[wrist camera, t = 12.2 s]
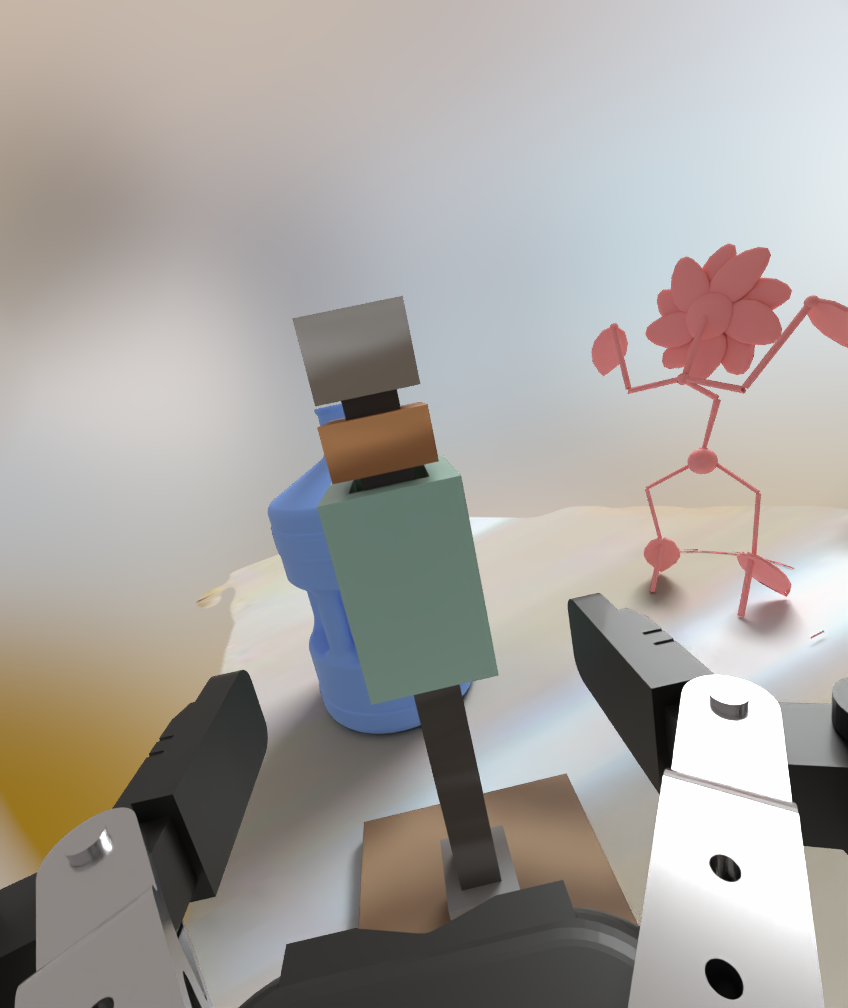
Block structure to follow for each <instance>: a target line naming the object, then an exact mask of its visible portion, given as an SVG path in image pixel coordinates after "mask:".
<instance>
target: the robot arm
mask: <svg viewBox="0 0 848 1008" xmlns="http://www.w3.org/2000/svg"><path fill="white" fill-rule="evenodd" d="M568 614H569V621H570V629H571V636H572V644H573V652H574V658H575V662H576V665H577V668H578V671H579V674H580V676H581V678H582V680H583V682H584V683H585V685H586V686H587V688H588V689H589V691H590V692H591V694H592V695H593V697H594V698H595V700H596V701H597V702H598V704H599V705H600V707H601V708H602V710H603V711H604V713H605V714H606V716H607V717H608V719H609V720H610V722H611V723H612V725H613V726H614V728H615V729H616V731H617V732H618V734H619V735H620V737H621V738H622V740H623V741H624V743H625V744H626V745H627V747H628V748H629V750H630V751H631V753H632V754H633V756H634V757H635V759H636V760H637V762H638V763H639V765H640V766H641V768H642V769H643V771H644V772H645V774H646V775H647V777H648V778H649V780H650V781H651V783H652V784H653V786H654V787H655V789H656V790H657V791H658V793H659V794H660V800H659V807H658V813H657V820H656V826H655V833H654V839H653V846H652V852H651V859H650V866H649V872H648V879H647V885H646V892H645V898H644V905H643V912H642V918H641V925H640V926H638V925H636V924H634V923H632V922H630V921H628V920H626V919H624V918H622V917H619V916H616V915H613V914H610V913H607V912H604V911H600V910H596V909H591V908H586V907H576V906H572V903H571V900H570V897H569V895H568V892H567V889H566V886H565V883H564V881H563V880H560V881H555V882H551V883H547V884H543V885H538V886H534V887H530V888H525V889H521V890H517V891H513V892H508V893H504V894H500V895H496V896H494V897H492V898H490V899H489V900H487V901H485V902H483V903H482V904H480V905H478V906H476V907H474V908H473V909H471V910H469V911H467V912H466V913H464V914H462V915H460V916H458V917H457V918H455V919H453V920H451V921H450V922H448V923H446V924H444V925H442V926H441V927H439V928H437V929H435V930H433V931H431V932H428V933H408V932H396V931H383V930H371V929H358V928H354V929H350V930H346V931H341V932H337V933H333V934H328V935H324V936H320V937H316V938H311V939H307V940H303V941H298V942H294V943H290V944H286V950H285V955H284V960H283V965H282V971H281V976H280V977H279V978H277V979H275V980H273V981H272V982H271V983H269V984H268V985H266V986H265V987H263V988H262V989H261V990H259V991H258V992H256V993H255V994H254V995H253V996H252V997H250V998H249V999H248V1000H247V1001H246V1002H245V1003H243V1004H242V1005H241V1006H240V1007H239V1008H825V1005H824V998H823V990H822V983H821V976H820V968H819V961H818V954H817V946H816V939H815V932H814V924H813V917H812V910H811V902H810V895H809V887H808V880H807V873H806V865H805V858H804V851H803V846H811V847H821V848H832V849H842V850H844V851H845V852H846V853H847V855H848V677H847V678H844V679H841V680H839V681H838V682H837V683H835V685H834V686H833V689H832V704H819V703H781V702H777V701H776V700H775V699H774V698H773V697H772V696H771V695H770V694H769V693H768V692H767V691H765V690H764V689H762V688H761V687H759V686H757V685H755V684H753V683H750V682H748V681H745V680H742V679H739V678H735V677H730V676H722V675H715V674H714V673H712V672H711V671H710V670H709V669H708V668H707V667H705V666H704V665H703V664H702V663H701V662H700V661H698V660H697V659H696V658H695V657H694V656H693V655H691V654H690V653H689V652H688V651H687V650H686V649H685V648H683V647H682V646H681V645H680V644H679V643H678V642H676V641H675V642H674V640H673V638H672V637H671V636H669V635H668V634H667V633H666V632H665V631H662V630H661V628H660V627H659V626H658V625H657V624H656V623H654V622H653V621H652V620H651V619H650V618H649V617H647V616H645V615H643V614H640V613H638V612H636V611H633V610H631V609H628V608H624V609H620V610H618V609H617V608H616V607H614V606H613V605H612V604H611V603H610V602H609V601H608V600H607V599H606V598H605V597H604V596H603V595H602V594H600V593H596V594H592V595H587V596H582V597H578V598H573V599H570V600H569V601H568ZM159 739H160V741H159V742H157V743H156V744H155V746H154V747H153V749H152V750H151V752H150V753H149V757H148V758H146V759H145V761H144V762H143V764H142V765H141V767H140V768H139V770H138V771H137V773H136V774H135V776H134V777H133V779H132V780H131V781H130V783H129V785H128V786H127V788H126V789H125V790H124V792H123V793H122V795H121V796H120V798H119V799H118V801H117V802H116V804H115V805H114V807H113V808H112V809H111V810H107V811H104V812H102V813H100V814H97V815H95V816H93V817H91V818H90V819H88V820H86V821H85V822H83V823H82V824H80V825H79V826H77V827H76V828H74V829H73V830H72V831H70V832H69V833H68V834H67V835H66V836H65V837H63V838H62V839H61V840H60V841H59V842H58V843H57V844H56V845H55V846H54V847H53V848H52V850H51V851H50V852H49V853H48V855H47V856H46V857H45V859H44V860H43V862H42V864H41V865H40V867H39V870H38V872H37V873H35V874H33V875H31V876H29V877H26V878H24V879H23V880H20V881H18V882H16V883H14V884H12V885H9V886H7V887H5V888H3V889H1V890H0V1008H213V1006H212V1003H211V1000H210V997H209V994H208V991H207V988H206V985H205V982H204V979H203V976H202V973H201V970H200V967H199V964H198V960H197V957H196V954H195V951H194V948H193V945H192V942H191V939H190V936H189V933H188V930H187V928H186V926H185V924H184V921H183V917H184V915H185V912H186V910H187V907H188V904H189V902H194V901H198V900H202V899H207V898H211V897H215V896H216V894H217V891H218V888H219V885H220V882H221V879H222V876H223V873H224V871H225V868H226V865H227V862H228V859H229V856H230V853H231V850H232V848H233V845H234V842H235V839H236V836H237V833H238V830H239V827H240V825H241V822H242V819H243V816H244V813H245V810H246V807H247V804H248V801H249V799H250V796H251V793H252V790H253V787H254V784H255V781H256V778H257V776H258V773H259V770H260V767H261V764H262V761H263V758H264V755H265V753H266V749H267V740H268V736H267V726H266V722H265V719H264V716H263V713H262V710H261V707H260V704H259V701H258V698H257V695H256V692H255V690H254V687H253V684H252V681H251V678H250V676H249V674H248V672H247V671H245V670H240V671H236V672H231V673H227V674H222V675H218V676H213V677H211V678H210V679H209V681H208V682H207V684H206V685H205V687H204V688H203V690H202V692H201V693H200V695H199V696H198V698H197V700H196V701H195V702H193V703H190V704H189V705H188V706H187V707H186V708H185V709H184V710H182V711H181V712H180V713H179V714H178V715H177V716H176V717H175V718H173V719H172V721H171V722H170V723H169V725H168V726H167V728H166V729H165V731H164V732H163V734H162V735H161V737H160V738H159Z"/></svg>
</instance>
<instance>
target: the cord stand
mask: <svg viewBox="0 0 848 1008" xmlns="http://www.w3.org/2000/svg"><path fill="white" fill-rule="evenodd" d="M293 322H294V326H295V330H296V334H297V338H298V341H299V345H300V349H301V353H302V356H303V361H304V365H305V368H306V372H307V376H308V380H309V384H310V387H311V391H312V395H313V399H314V403H315V406H319V405H323V404H329V403H334V402H338V401H341V402H342V407H343V411H344V415H345V418H341V419H337V420H332V421H329V422H327V423H326V424H324V425H322V426H320V427H318V432H319V436H320V439H321V443H322V447H323V451H324V455H325V458H326V462H327V466H328V470H329V474H330V477H331V481H332V485H333V484H338V483H342V482H347V481H351V480H356V479H360V480H361V484H362V488H363V491H365V490H370V489H374V488H379V487H383V486H388V485H393V484H397V483H402V482H406V481H411V480H415V479H416V478H415V473H414V468H413V467H416V466H420V465H425V464H429V463H434V462H439V459H438V455H437V449H436V445H435V440H434V434H433V429H432V424H431V419H430V414H429V409H428V404H425V403H422V402H417V403H412V404H407V405H402V406H400V403H399V398H398V394H397V389H399V388H404V387H409V386H414V385H418V384H420V381H419V376H418V370H417V365H416V361H415V355H414V350H413V346H412V341H411V335H410V330H409V325H408V320H407V315H406V310H405V305H404V300H403V296H400V297H395V298H390V299H385V300H380V301H375V302H371V303H366V304H361V305H356V306H351V307H347V308H342V309H337V310H332V311H327V312H322V313H317V314H313V315H308V316H303V317H298V318H293ZM414 699H415V703H416V708H417V712H418V716H419V720H420V724H421V728H422V732H423V736H424V740H425V744H426V748H427V752H428V756H429V760H430V764H431V769H432V773H433V777H434V781H435V785H436V789H437V793H438V797H439V801H440V804H438V805H434V806H430V807H425V808H421V809H417V810H413V811H409V812H405V813H400V814H396V815H392V816H388V817H384V818H380V819H376V820H371V821H367V822H364V833H363V853H362V873H361V893H360V913H359V929H371V930H383V931H396V932H408V933H428V932H431V931H433V930H435V929H437V928H439V927H441V926H442V925H444V924H446V923H448V922H450V921H451V920H453V919H455V918H457V917H458V916H460V915H462V914H464V913H466V912H467V911H469V910H471V909H473V908H474V907H476V906H478V905H480V904H482V903H483V902H485V901H487V900H489V899H490V898H492V897H494V896H496V895H500V894H504V893H508V892H513V891H517V890H521V889H525V888H530V887H534V886H538V885H543V884H547V883H551V882H555V881H560V880H563V881H564V883H565V886H566V889H567V892H568V895H569V897H570V900H571V903H572V906H576V907H586V908H591V909H596V910H600V911H604V912H607V913H610V914H613V915H616V916H619V917H622V918H624V919H626V920H628V921H630V922H632V923H634V924H636V925H638V924H637V922H636V920H635V918H634V916H633V913H632V911H631V909H630V907H629V905H628V903H627V901H626V899H625V897H624V894H623V892H622V890H621V888H620V886H619V884H618V882H617V880H616V878H615V875H614V873H613V871H612V869H611V867H610V865H609V863H608V861H607V859H606V856H605V854H604V852H603V850H602V848H601V846H600V844H599V842H598V839H597V837H596V835H595V833H594V831H593V829H592V827H591V825H590V823H589V820H588V818H587V816H586V814H585V812H584V810H583V808H582V806H581V804H580V801H579V799H578V797H577V795H576V793H575V791H574V789H573V787H572V785H571V782H570V780H569V778H568V776H567V774H563V775H559V776H554V777H550V778H546V779H542V780H538V781H534V782H529V783H525V784H521V785H517V786H513V787H509V788H504V789H500V790H496V791H492V792H488V793H484V794H483V791H482V786H481V782H480V777H479V772H478V768H477V763H476V758H475V754H474V749H473V744H472V740H471V735H470V730H469V726H468V721H467V716H466V712H465V707H464V702H463V697H462V693H461V688H460V684H459V685H455V686H450V687H446V688H442V689H438V690H433V691H429V692H425V693H420V694H416V695H414Z"/></svg>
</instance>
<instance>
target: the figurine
mask: <svg viewBox="0 0 848 1008" xmlns="http://www.w3.org/2000/svg"><path fill="white" fill-rule="evenodd" d="M770 256H771V254H770V252H769V250H768V248H762V247H757V248H753V249H750V250H746V251H744V252H742V253H741V254H739V255H736V249H735V245H732V244H727V245H725V246H723V247H721V248H720V249H719V250H717V251H716V252H715V253H714V254H713V255H712V256H710V258H709V259H708V261H707V262H706V264H705V265H704V267H703V268H701V266H700V265H699V264H698V263H697V262H695V261H694V260H693V259H691V258H689V257H684V258H681V259H680V260H679V261H678V263H677V264H676V266H675V269H674V272H673V275H672V281H671V289H670V290H669V289H668V290H662V291H661V292H660V293H659V295H658V299H657V304H658V308H659V312H660V314H661V315H662V317H661V318H659V319H658V320H656V321H654V322H653V323H652V324H650V325H649V327H647V330H646V336H647V338H648V339H649V340H650V341H651V342H653V343H654V344H656V345H659V346H662V347H665V348H667V349H666V351H665V352H664V353H663V359H662V362H663V365H664V367H666V368H669V369H672V368H681V367H684V370H683V373H682V374H680V375H678V377H677V378H672V379H668V380H663V381H659V382H655V383H650V384H646V385H642V386H638V387H634V388H631V385H630V380H629V376H628V372H627V368H626V364H625V360H624V356H625V354H626V351H627V345H628V342H627V339H626V335H625V332H624V331H623V330H621V329H620V328H618V325H617V324H616V323H613V324H611V325H610V327H609V328H607V329H605V330H603V331H602V332H601V333H600V335H599V336H598V337H597V339H596V340H595V341H594V345H593V348H592V359H593V363H594V365H595V366H596V368H597V369H598V371H599V372H600V373H601V374H602V375H603V376H604V375H606V374H607V373H609V372H610V371H611V370H613V369H614V368H615V367H616V366H617V365H619V364H620V367H621V371H622V375H623V379H624V384H625V387H626V389H629V390H628V394H629V393H634V392H638V391H642V390H646V389H651V388H656V387H660V386H664V385H668V384H673V383H676V382H678V383H679V384H680V385H684V384H686V385H688V386H690V387H692V388H694V389H696V390H697V391H699V392H701V393H703V394H705V395H706V396H708V397H710V398H712V399H714V401H713V405H712V410H711V414H710V418H709V421H708V426H707V430H706V434H705V438H704V442H703V446H702V448H700V449H698V450H695V451H693V452H692V453H691V454H690V456H689V458H688V465H686V466H685V467H682V468H681V469H679V470H677V471H675V472H673V473H671V474H669V475H667V476H666V477H664V478H662V479H660V480H659V481H656V482H654V483H653V484H651V485H649V486H647V487H646V488H647V489H645V491H646V494H647V498H648V502H649V506H650V509H651V513H652V517H653V520H654V524H655V528H656V532H657V535H658V538H657V539H654V540H651V541H650V542H649V543H648V545H647V546H646V547H645V550H644V557H645V558H646V560H647V562H648V563H649V564H651V565H652V566H653V567H654V572H653V577H652V582H651V588H650V592H654V593H655V590H656V584H657V579H658V574H659V571H660V572H662V571H664V570H666V569H668V568H669V567H671V566H672V565H673V564H675V563H676V562H677V560H678V559H679V557H680V552H713V553H725V552H714V551H679V548H678V547H677V545H676V544H675V543H674V541H672V540H669V539H667V538H664V539H662V537H661V533H660V529H659V526H658V522H657V518H656V514H655V510H654V507H653V503H652V499H651V496H650V492H649V489H650V488H651V487H653V486H655V485H657V484H659V483H661V482H663V481H665V480H667V479H669V478H671V477H672V476H675V475H676V474H678V473H680V472H682V471H684V470H686V469H688V468H690V470H691V471H693V472H695V473H698V474H707V473H709V472H712V471H713V470H714V469H715V468H716V467H718V468H719V469H721V470H722V471H724V472H725V473H727V474H728V475H730V476H731V477H733V478H734V479H736V480H737V481H739V482H740V483H742V484H743V485H745V486H746V487H748V488H749V489H751V490H752V491H754V492H755V493H756V504H755V516H754V530H753V543H752V553H749V552H748V553H747V554H746V553H744V552H742V553H740V554H734V553H725V554H734V555H738V556H737V558H738V561H739V564H740V566H741V567H742V568H743V569H744V570H745V571H746V573H745V578H744V584H743V589H742V594H741V600H740V605H739V610H738V615H739V616H743V617H744V615H745V610H746V605H747V599H748V594H749V589H750V583H751V578H752V577H753V578H754V579H756V580H757V581H758V582H760V583H762V584H763V585H765V586H767V587H769V588H771V589H772V590H774V591H776V592H778V593H780V594H782V595H784V596H786V597H787V594H789V592H790V589H791V583H790V581H789V579H788V578H787V576H786V575H785V574H784V573H783V572H782V571H781V570H780V569H779V568H777V567H776V566H775V565H773V564H771V563H770V562H774V561H771V560H767V559H764V558H762V557H760V556H757V555H756V550H757V537H758V525H759V512H760V499H761V494H760V493H759V490H757V489H756V488H754V487H753V486H751V485H750V484H748V483H747V482H745V481H744V480H742V479H741V478H739V477H738V476H736V475H735V474H733V473H732V472H730V471H729V470H728V469H726V468H724V467H723V466H722V465H720V464H719V463H718V459H717V456H716V454H715V453H714V452H713V451H711V450H709V449H708V448H706V447H707V444H708V441H709V437H710V434H711V431H712V427H713V424H714V421H715V418H716V414H717V411H718V408H719V404H720V401H721V400H718V398H719V396H718V395H717V394H714V393H713V392H711V391H709V390H707V389H705V388H703V387H701V386H699V385H697V384H700V385H705V386H710V387H714V388H720V389H725V390H730V391H735V392H739V393H745V391H746V390H745V388H749V387H750V386H751V384H752V383H753V382H754V381H755V379H756V378H757V377H758V375H759V374H760V373H761V372H762V370H763V369H764V368H765V367H766V365H767V364H768V363H769V361H770V360H771V359H772V358H773V356H774V355H775V354H776V353H777V351H778V350H779V349H780V348H781V346H782V345H783V344H784V342H785V341H786V340H787V339H788V337H789V336H790V335H791V334H792V332H793V331H794V330H795V329H796V327H797V326H798V325H799V324H800V322H801V321H802V320H803V318H804V317H805V316H806V315H808V316H809V318H810V320H811V322H812V324H813V325H814V326H816V328H817V329H819V330H820V331H821V332H822V333H823V334H824V335H826V336H827V337H829V338H831V339H832V340H834V341H836V342H837V343H839V344H840V345H842V346H845V347H847V348H848V307H846V306H844V305H841V304H839V303H837V302H835V301H831V300H825V299H820V298H818V297H817V296H809V297H807V298H806V300H805V301H804V306H803V308H802V309H801V310H800V312H799V313H798V314H797V315H796V317H795V318H794V319H793V321H792V322H791V323H790V324H789V326H788V327H787V328H786V329H785V331H784V332H783V333H782V335H781V331H782V328H781V325H780V322H779V319H778V317H777V316H776V315H775V314H774V312H773V311H772V310H773V309H775V308H777V307H778V306H780V305H782V304H783V303H784V302H785V301H787V300H788V299H789V298H790V295H791V291H792V290H791V289H790V287H789V286H788V285H787V284H785V283H783V282H781V281H779V280H777V279H770V278H760V277H761V275H762V273H763V272H764V270H765V268H766V267H767V265H768V262H769V259H770ZM775 341H776V342H775ZM774 342H775V344H774V345H773V346H772V348H771V349H770V350H769V351H768V353H767V354H766V355H765V357H764V358H763V359H762V360H761V362H760V363H759V364H758V366H757V367H756V368H755V370H754V371H753V372H752V373H751V375H750V376H749V377H748V379H747V380H746V381H745V382H744V384H743V385H742V386H739V385H733V384H727V383H722V382H717V381H711V380H706V378H707V377H709V376H710V375H711V374H712V373H713V371H714V370H715V369H716V368H717V367H718V366H719V365H720V363H722V365H723V366H724V368H725V369H726V370H727V372H729V373H732V374H736V375H739V374H744V373H745V372H746V371H747V370H748V369H749V367H750V364H751V362H752V360H753V357H754V348H755V345H766V344H771V343H774ZM694 550H698V549H694ZM736 553H739V552H736ZM768 561H770V562H768ZM774 563H778V562H774ZM778 564H781V563H778ZM781 565H784V564H781ZM784 566H787V565H784ZM787 567H790V566H787ZM790 568H792V569H794V568H793V567H790ZM785 592H786V593H787V594H786V593H785ZM823 632H824V631H822V632H820V633H818V634H816V635H814V636H812V637H811V638H813V637H815V636H817V635H819V634H821V633H823Z"/></svg>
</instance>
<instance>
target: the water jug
mask: <svg viewBox="0 0 848 1008" xmlns="http://www.w3.org/2000/svg"><path fill="white" fill-rule="evenodd" d="M314 411H315V413H316V414H317V416H318V418H319V422H320V426H322V425H324V424H326V423H327V422H329V421H332V420H337V419H341V418H345V415H344V411H343V407H342V404H338V405H333V406H329V407H324V408H319V409H315V410H314ZM331 482H332V481H331V477H330V474H329V470H328V466H327V462H326V458H325V455H324V457H323V459H322V460H321V461H320V462H318V463H317V464H316V465H315V466H313V467H312V468H311V469H310V470H309V471H308V472H306V473H305V474H304V475H303V476H302V477H301V478H299V479H298V480H297V481H296V482H295V483H293V484H292V485H291V486H290V487H289V488H287V489H286V490H285V491H284V492H282V493H281V494H280V495H279V496H278V497H277V498H275V499H274V500H273V501H272V502H271V504H270V505H269V508H268V516H269V519H270V522H271V530H272V535H273V538H274V542H275V545H276V548H277V550H278V553H279V555H280V556H281V558H282V562H283V565H284V568H285V571H286V575H287V578H288V580H289V581H290V582H291V583H292V584H293V585H295V586H296V587H298V588H300V589H303V590H306V591H307V593H308V596H309V600H310V603H311V606H312V610H313V613H314V628H313V632H312V634H311V637H310V641H309V650H310V653H311V657H312V660H313V663H314V666H315V670H316V673H317V676H318V679H319V686H320V692H321V695H322V698H323V701H324V705H325V707H326V709H327V711H328V712H329V714H330V715H331V716H332V717H333V718H334V719H335V720H336V721H337V722H338V723H340V724H341V725H343V726H345V727H347V728H349V729H352V730H355V731H359V732H363V733H372V734H385V733H394V732H400V731H404V730H408V729H412V728H415V727H418V726H420V725H421V724H420V720H419V716H418V712H417V708H416V703H415V699H414V695H412V696H407V697H403V698H399V699H395V700H390V701H386V702H382V703H377V704H373V705H371V702H370V698H369V694H368V691H367V687H366V684H365V680H364V676H363V673H362V669H361V665H360V662H359V658H358V654H357V651H356V647H355V644H354V640H353V636H352V633H351V629H350V625H349V622H348V618H347V615H346V611H345V607H344V604H343V600H342V596H341V593H340V589H339V585H338V582H337V578H336V575H335V571H334V567H333V564H332V560H331V556H330V553H329V549H328V546H327V542H326V538H325V535H324V531H323V527H322V524H321V520H320V517H319V513H318V509H317V506H318V504H319V503H320V501H321V499H322V498H323V496H324V494H325V493H326V491H327V489H328V488H329V486H330V484H331ZM470 684H471V682H468V683H463V684H460V688H461V693H462V696H463V695H464V694H465V693H466V691H467V690H468V688H469V686H470Z"/></svg>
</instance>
